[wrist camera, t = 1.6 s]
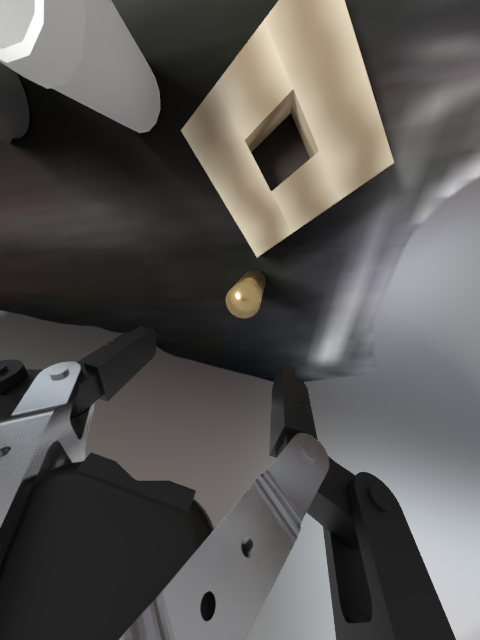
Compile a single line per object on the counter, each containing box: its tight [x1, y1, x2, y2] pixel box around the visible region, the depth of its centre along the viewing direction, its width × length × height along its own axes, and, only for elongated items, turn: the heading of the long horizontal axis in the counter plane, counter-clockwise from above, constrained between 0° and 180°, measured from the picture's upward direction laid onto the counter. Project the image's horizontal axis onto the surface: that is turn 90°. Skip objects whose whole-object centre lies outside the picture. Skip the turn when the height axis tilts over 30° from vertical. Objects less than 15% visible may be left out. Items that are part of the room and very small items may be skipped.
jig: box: [181, 0, 394, 257], centre depth 19 cm, size 16×16×4 cm
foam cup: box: [0, 0, 160, 133], centre depth 15 cm, size 10×9×13 cm
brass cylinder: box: [226, 269, 266, 318], centre depth 24 cm, size 4×4×10 cm
